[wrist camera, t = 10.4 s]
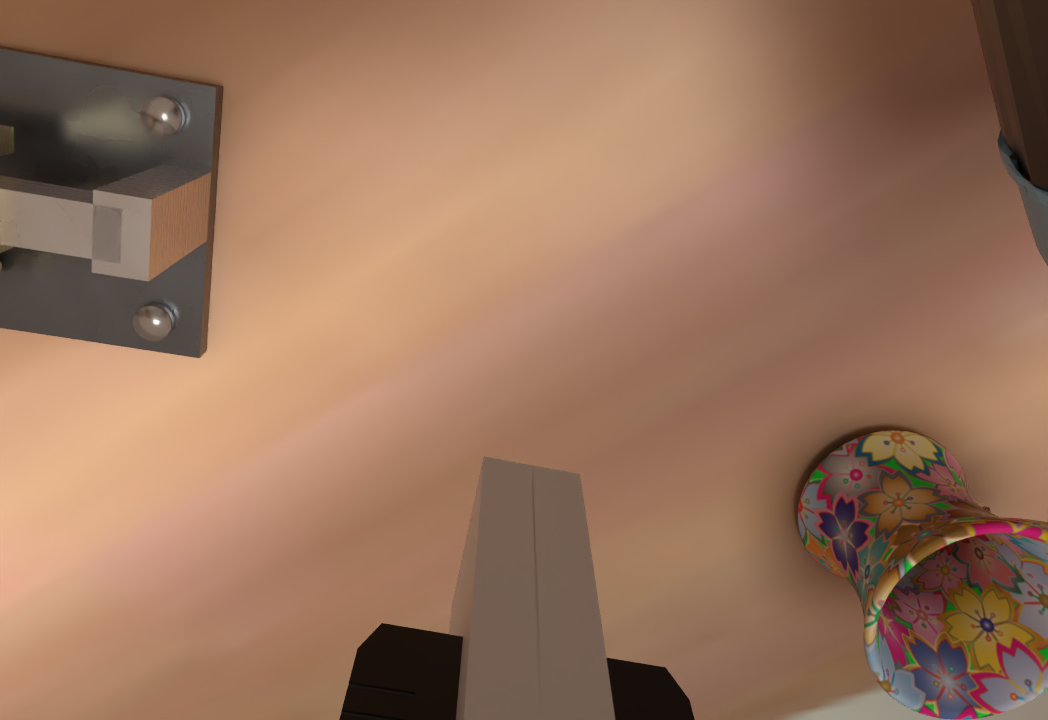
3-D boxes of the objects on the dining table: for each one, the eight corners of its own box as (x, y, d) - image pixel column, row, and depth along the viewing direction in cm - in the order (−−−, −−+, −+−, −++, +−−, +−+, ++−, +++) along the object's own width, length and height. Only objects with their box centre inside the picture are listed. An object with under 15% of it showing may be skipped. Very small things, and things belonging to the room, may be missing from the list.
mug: (793, 592, 47) (875, 739, 37) (774, 436, 44) (857, 551, 34) (1019, 547, 47) (1163, 685, 37) (1016, 387, 44) (1172, 489, 34)
